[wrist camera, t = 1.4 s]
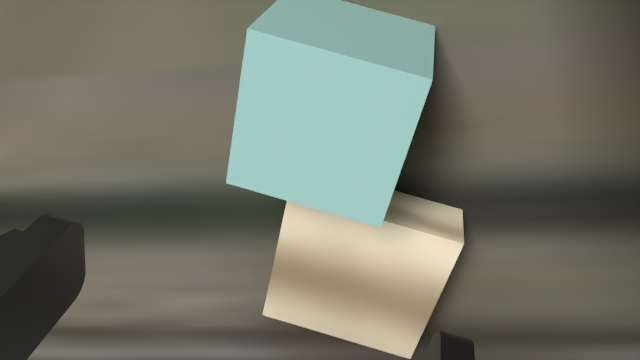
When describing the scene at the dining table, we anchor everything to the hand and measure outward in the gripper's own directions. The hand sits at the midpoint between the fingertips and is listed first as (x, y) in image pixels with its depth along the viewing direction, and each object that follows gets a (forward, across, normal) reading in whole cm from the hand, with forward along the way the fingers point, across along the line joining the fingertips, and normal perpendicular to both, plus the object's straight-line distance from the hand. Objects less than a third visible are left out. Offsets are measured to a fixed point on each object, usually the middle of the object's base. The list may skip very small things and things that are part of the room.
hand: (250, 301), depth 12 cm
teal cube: (+14, 0, 0) cm, 14 cm away
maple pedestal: (+14, -3, +9) cm, 17 cm away
